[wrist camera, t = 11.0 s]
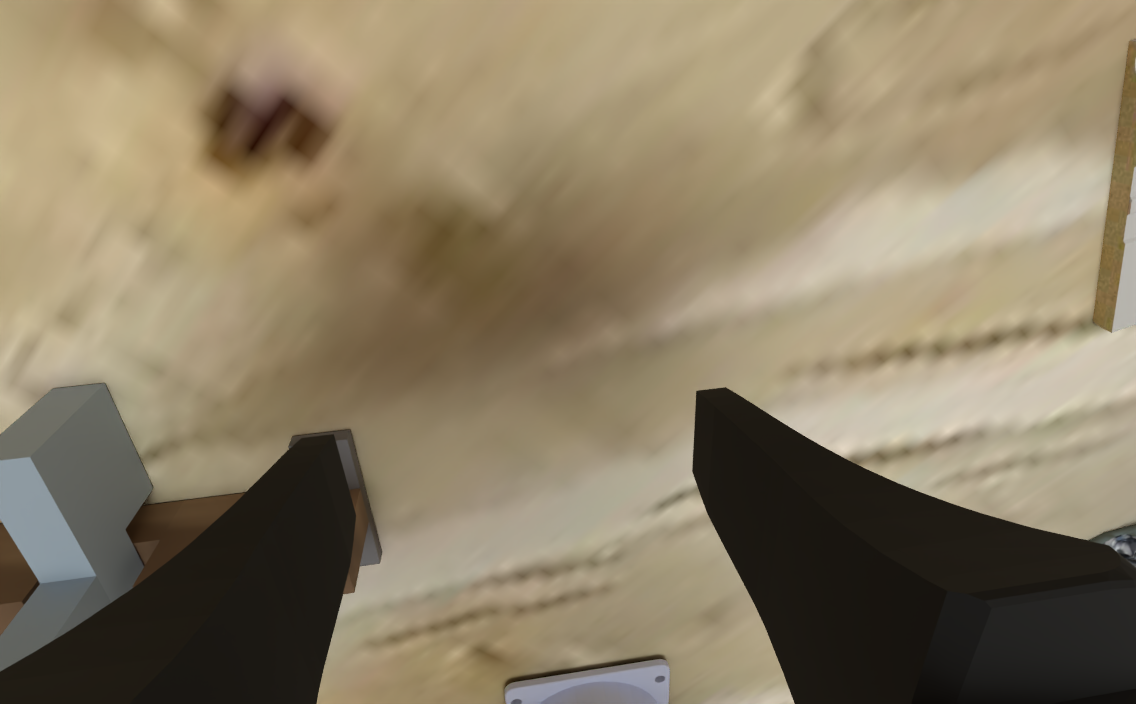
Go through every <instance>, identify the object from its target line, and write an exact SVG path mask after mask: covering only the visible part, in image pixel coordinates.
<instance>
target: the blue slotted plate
mask: <svg viewBox="0 0 1136 704" xmlns="http://www.w3.org/2000/svg"><path fill="white" fill-rule="evenodd" d="M152 490H153V487H152V484H151V482H150V480H149V478H148V476H147V474H146V471H145V469H144V467H143V465H142V463H141V460H140V458H139V456H138V454H137V452H136V450H135V447H134V445H133V443H132V441H131V439H130V437H129V434H128V432H127V430H126V428H125V426H124V424H123V421H122V419H121V417H120V415H119V413H118V411H117V408H116V406H115V404H114V402H113V400H112V398H111V395H110V393H109V391H108V389H107V387H106V385H105V383H101V384H92V385H82V386H73V387H64V388H55V389H52V390H50V391H49V392H48V393H47V394H46V395H45V396H44V397H43V398H41V399H40V400H39V401H38V402H37V403H36V404H35V405H33V406H32V407H31V408H30V409H29V410H28V411H27V412H25V413H24V414H23V415H22V416H21V417H20V418H19V419H17V420H16V421H15V422H14V423H13V424H12V425H11V426H9V427H8V428H7V429H6V430H5V431H4V432H3V433H1V434H0V520H1V521H2V523H3V525H4V526H5V528H6V529H7V531H8V533H9V534H10V536H11V537H12V539H13V541H14V542H15V544H16V545H17V547H18V549H19V550H20V552H21V553H22V555H23V557H24V558H25V560H26V561H27V563H28V565H29V566H30V568H31V569H32V571H33V573H34V574H35V576H36V577H37V579H38V581H39V582H40V585H39V586H38V587H37V589H36V590H35V591H34V593H33V594H32V595H31V596H30V598H29V599H28V600H27V602H26V603H25V604H24V606H23V607H22V608H21V610H20V611H19V612H18V613H17V615H16V616H15V617H14V619H13V620H12V621H11V623H10V624H9V625H8V626H7V628H6V629H5V630H4V632H3V633H2V634H1V636H0V671H2V670H4V669H5V668H7V667H9V666H11V665H12V664H14V663H16V662H17V661H19V660H21V659H23V658H24V657H26V656H28V655H30V654H31V653H33V652H35V651H37V650H38V649H40V648H42V647H43V646H45V645H46V644H48V643H50V642H51V641H53V640H55V639H56V638H58V637H60V636H61V635H63V634H65V633H66V632H68V631H69V630H71V629H73V628H74V627H76V626H77V625H79V624H80V623H82V622H83V621H85V620H86V619H88V618H89V617H91V616H92V615H94V614H95V613H97V612H98V611H100V610H101V609H103V608H104V607H106V606H107V605H109V604H110V603H111V602H113V601H114V600H116V599H117V598H119V597H120V596H122V595H123V594H125V593H126V592H128V591H129V590H131V589H132V588H133V585H134V583H135V581H136V580H137V578H138V576H139V575H140V573H141V571H142V570H143V568H144V565H143V563H142V561H141V560H140V558H139V556H138V554H137V552H136V550H135V548H134V546H133V544H132V542H131V540H130V538H129V536H128V534H127V532H126V530H125V529H126V528H127V526H128V525H129V523H130V522H131V520H132V519H133V517H134V516H135V514H136V513H137V512H138V510H139V509H140V507H141V506H142V504H143V503H144V501H145V500H146V498H147V497H148V495H149V494H150V492H151V491H152Z"/></svg>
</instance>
